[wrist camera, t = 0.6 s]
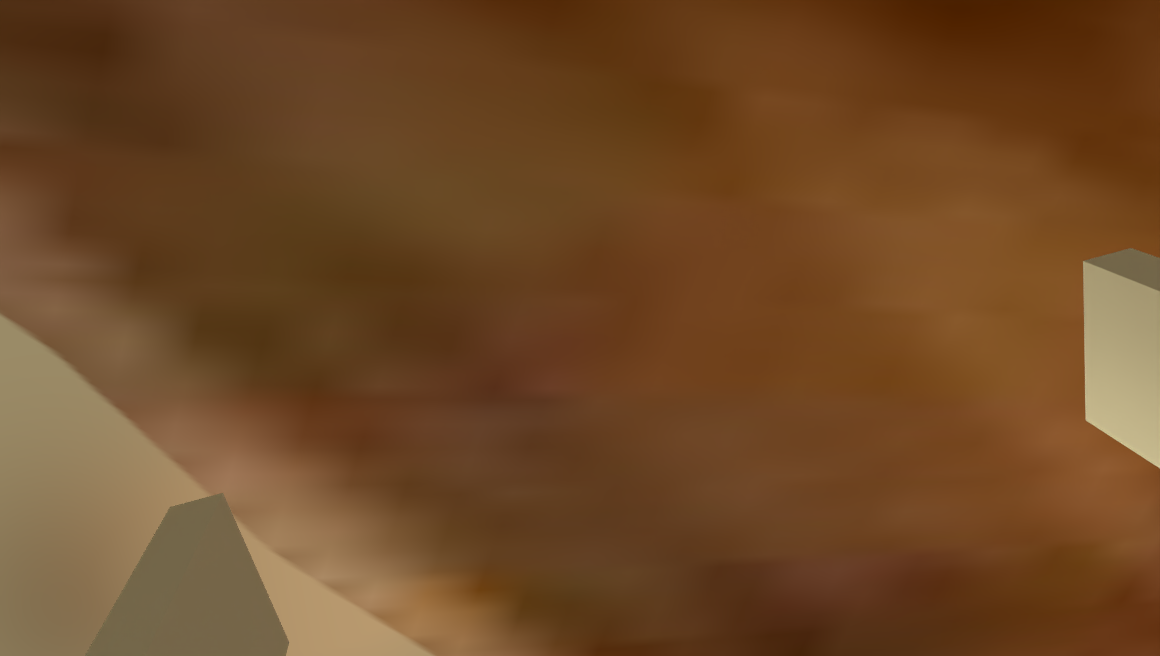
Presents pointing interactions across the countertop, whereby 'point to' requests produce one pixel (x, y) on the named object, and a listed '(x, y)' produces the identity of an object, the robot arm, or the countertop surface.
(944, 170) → the countertop surface
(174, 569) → the robot arm
